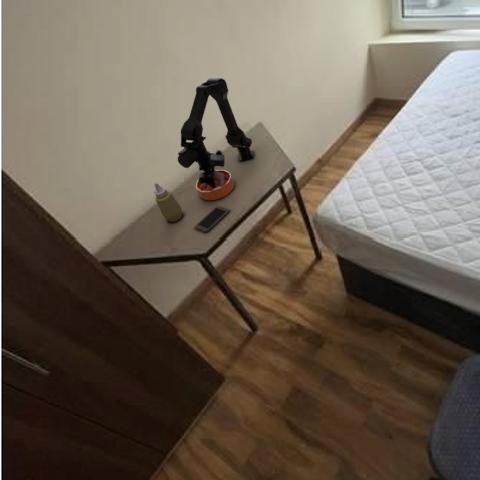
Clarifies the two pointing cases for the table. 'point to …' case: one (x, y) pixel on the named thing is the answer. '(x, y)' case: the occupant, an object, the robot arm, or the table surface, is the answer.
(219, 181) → the video game controller
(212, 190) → the orange mixing bowl
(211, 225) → the cell phone
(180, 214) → the squeeze bottle
